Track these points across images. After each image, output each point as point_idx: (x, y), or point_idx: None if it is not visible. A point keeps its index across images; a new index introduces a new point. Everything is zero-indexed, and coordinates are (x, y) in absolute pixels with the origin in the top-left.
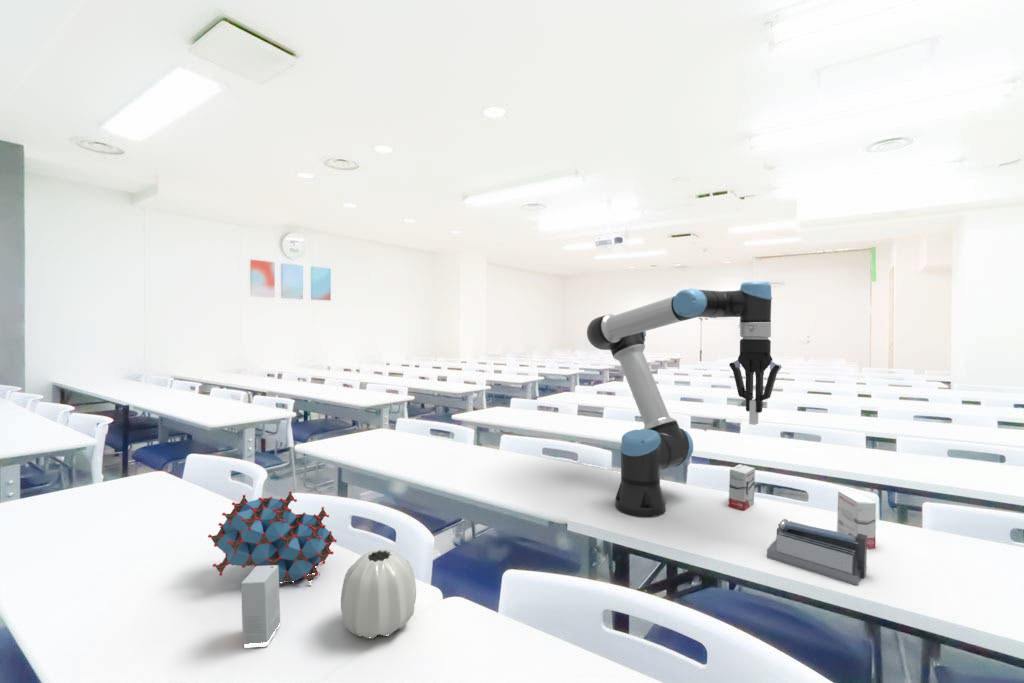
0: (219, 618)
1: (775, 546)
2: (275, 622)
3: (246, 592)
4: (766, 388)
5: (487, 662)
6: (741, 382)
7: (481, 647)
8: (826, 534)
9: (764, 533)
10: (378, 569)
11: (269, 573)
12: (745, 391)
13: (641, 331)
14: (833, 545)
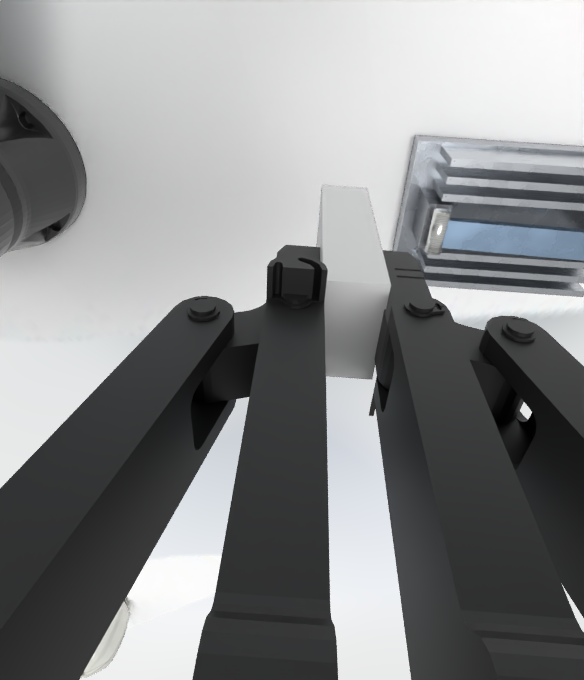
0: None
1: (410, 239)
2: None
3: None
4: (535, 516)
5: (207, 587)
6: (153, 504)
7: (189, 580)
8: (546, 256)
9: (367, 105)
10: (94, 673)
11: None
12: (218, 335)
13: None
14: (551, 263)
